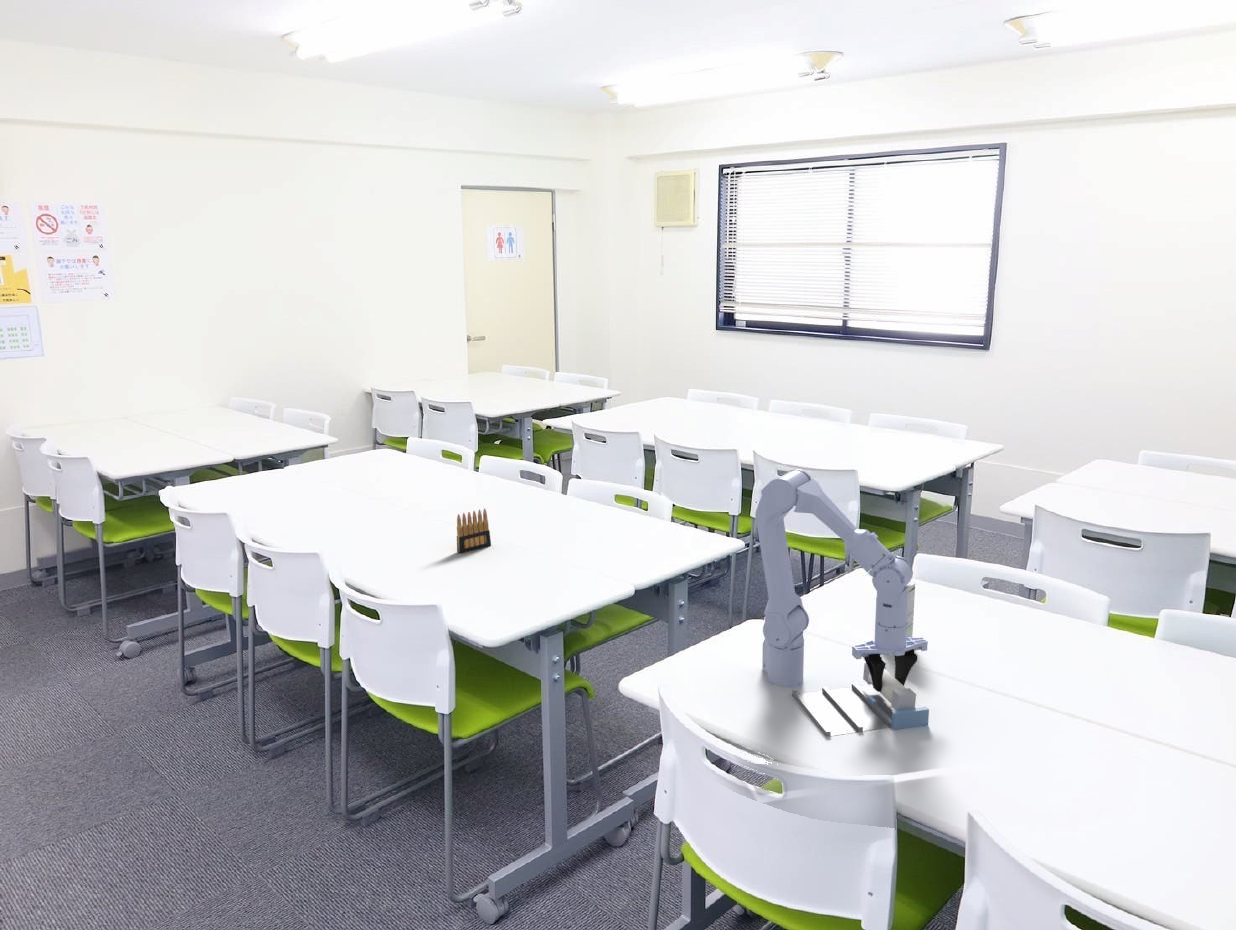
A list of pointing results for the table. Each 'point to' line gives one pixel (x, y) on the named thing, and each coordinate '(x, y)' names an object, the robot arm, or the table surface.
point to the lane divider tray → (857, 711)
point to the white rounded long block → (893, 690)
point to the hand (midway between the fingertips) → (888, 688)
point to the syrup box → (910, 609)
